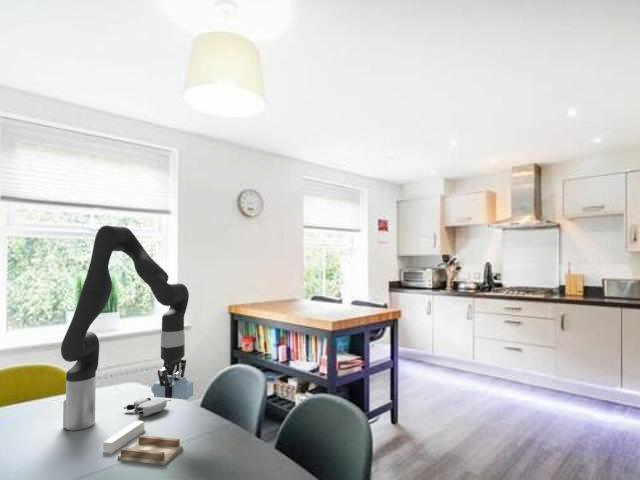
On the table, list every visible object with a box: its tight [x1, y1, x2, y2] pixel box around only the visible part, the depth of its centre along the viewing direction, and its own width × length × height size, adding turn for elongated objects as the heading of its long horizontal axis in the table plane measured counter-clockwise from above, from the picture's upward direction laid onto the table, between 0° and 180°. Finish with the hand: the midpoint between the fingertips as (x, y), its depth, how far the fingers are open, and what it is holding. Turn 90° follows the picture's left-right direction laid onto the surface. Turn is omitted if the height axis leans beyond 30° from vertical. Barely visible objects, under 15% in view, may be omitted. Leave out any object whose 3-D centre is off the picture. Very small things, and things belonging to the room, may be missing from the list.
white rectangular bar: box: [102, 420, 145, 454], centre depth 130 cm, size 3×16×4 cm, turn 169°
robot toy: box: [123, 397, 172, 417], centre depth 154 cm, size 12×4×15 cm
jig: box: [117, 434, 184, 466], centre depth 121 cm, size 16×10×3 cm, turn 78°
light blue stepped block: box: [150, 377, 194, 400], centre depth 130 cm, size 14×4×6 cm, turn 79°
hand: (172, 394), depth 130 cm, fingers closed on light blue stepped block, 4 cm apart
